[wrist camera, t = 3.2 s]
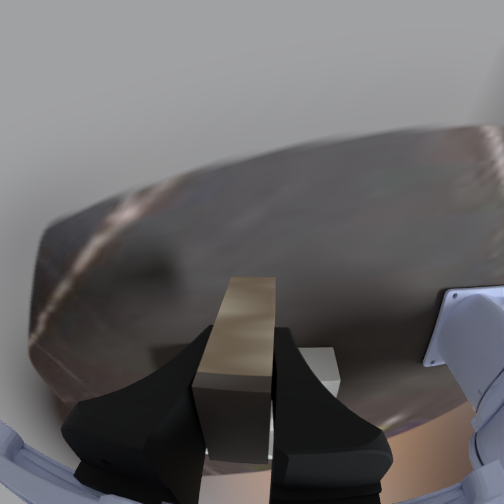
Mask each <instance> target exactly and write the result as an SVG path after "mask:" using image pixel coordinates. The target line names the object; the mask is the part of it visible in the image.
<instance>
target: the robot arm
mask: <svg viewBox="0 0 504 504" xmlns="http://www.w3.org/2000/svg"><path fill="white" fill-rule="evenodd" d="M454 294H455V295H454ZM453 295H454V296H453ZM213 326H214V325H209V326H208V327H207V328H206V329H205V330H204V331H203V332H202V333H201V334H200V335H199V336H198V337H197V338H196V339H195V340H194V341H193V342H192V343H191V344H189V345H188V346H187V347H186V348H185V349H184V350H183V351H182V352H181V353H179V354H178V355H177V356H176V357H175V358H173V359H172V360H171V361H170V362H168V363H167V364H166V365H164V366H163V367H161V368H160V369H158V370H157V371H155V372H154V373H152V374H150V375H149V376H147V377H145V378H143V379H141V380H139V381H137V382H135V383H133V384H131V385H129V386H127V387H125V388H123V389H120V390H118V391H115V392H112V393H109V394H107V395H103V396H100V397H96V398H93V399H89V400H85V401H80V402H78V403H77V405H76V406H75V408H74V409H73V410H72V412H71V413H70V415H69V416H68V418H67V419H66V421H65V422H64V424H63V425H62V427H61V432H62V435H63V437H64V439H65V441H66V442H67V443H68V445H69V446H70V447H71V448H72V450H73V451H74V452H75V453H76V455H77V456H78V457H79V458H80V460H81V462H80V464H79V466H78V467H77V469H76V471H75V470H73V469H71V468H69V467H67V466H65V465H63V464H61V463H59V462H57V461H55V460H53V459H51V458H50V457H48V456H45V455H44V454H42V453H41V452H39V451H37V450H35V449H34V448H32V447H30V446H29V445H27V444H25V443H24V441H23V440H22V438H21V437H20V436H19V435H18V434H17V433H16V432H15V431H14V430H13V429H12V428H10V427H9V426H8V425H6V424H5V423H3V422H2V421H0V482H1V483H2V484H3V485H4V486H5V487H6V488H8V489H9V490H10V491H11V492H13V493H14V494H15V495H17V496H18V497H19V498H21V499H22V500H23V501H25V502H26V503H28V504H198V501H199V492H200V485H201V478H202V471H203V465H204V459H205V453H206V448H207V447H206V443H205V440H204V436H203V432H202V428H201V424H200V420H199V416H198V412H197V408H196V404H195V399H194V395H193V390H192V384H193V381H194V379H195V376H196V373H197V370H198V367H199V365H200V362H201V359H202V356H203V354H204V351H205V348H206V345H207V343H208V340H209V337H210V334H211V332H212V329H213ZM431 361H432V362H431ZM441 364H446V365H447V366H448V368H449V369H450V371H451V373H452V374H453V376H454V377H455V379H456V381H457V382H458V384H459V386H460V387H461V389H462V391H463V392H464V394H465V396H466V398H467V399H468V401H469V403H470V404H471V406H472V408H473V410H474V412H475V413H476V415H475V417H474V418H473V420H472V421H471V424H472V426H473V428H474V430H475V432H474V433H473V435H472V436H471V438H470V442H469V456H470V461H471V464H472V467H473V469H474V470H473V471H472V472H470V473H469V474H468V475H467V476H466V477H465V478H464V479H463V480H462V481H461V482H460V483H457V484H455V485H452V486H450V487H447V488H444V489H441V490H439V491H436V492H433V493H430V494H426V495H423V496H420V497H417V498H413V499H410V500H406V501H402V502H398V503H394V504H504V285H503V286H490V287H475V288H459V289H448V290H447V291H446V292H445V294H444V298H443V301H442V305H441V309H440V312H439V316H438V319H437V322H436V325H435V329H434V332H433V335H432V338H431V341H430V343H429V346H428V349H427V352H426V355H425V357H424V360H423V365H424V366H425V367H429V366H435V365H441ZM272 412H273V455H272V471H271V485H270V499H269V504H381V503H380V497H379V493H380V492H381V490H382V488H381V483H380V480H381V479H382V477H383V476H384V475H385V474H386V472H387V471H388V470H389V468H390V467H391V465H392V463H393V457H392V452H391V448H390V446H389V444H388V441H387V439H386V437H385V435H384V433H383V431H382V430H381V429H379V428H377V427H376V426H374V425H372V424H370V423H369V422H367V421H365V420H364V419H362V418H360V417H359V416H358V415H356V414H355V413H353V412H352V411H351V410H349V409H348V408H347V407H346V406H345V405H344V404H342V403H341V402H340V401H339V400H338V399H337V398H336V397H335V396H334V395H333V394H332V393H331V392H330V391H329V390H328V389H327V388H326V387H325V386H324V385H323V384H322V383H321V381H320V380H319V379H318V378H317V376H316V375H315V374H314V372H313V371H312V370H311V368H310V367H309V365H308V364H307V362H306V361H305V359H304V357H303V356H302V354H301V352H300V350H299V349H298V347H297V345H296V343H295V340H294V338H293V336H292V333H291V330H290V329H289V328H279V327H274V342H273V375H272Z"/></svg>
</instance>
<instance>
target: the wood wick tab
mask: <svg viewBox="0 0 504 504" xmlns="http://www.w3.org/2000/svg"><path fill="white" fill-rule="evenodd" d="M275 283H276V278H275V277H231V280H230V283H229V285H228V288H227V291H226V294H225V296H224V299H223V302H222V304H221V307H220V310H219V313H218V315H217V318H216V321H215V323H214V326H213V329H212V332H211V334H210V337H209V340H208V343H207V345H206V348H205V351H204V354H203V356H202V359H201V362H200V365H199V367H198V370H197V373H196V376H195V379H194V381H193V384H192V390H193V395H194V399H195V404H196V408H197V412H198V416H199V420H200V424H201V428H202V432H203V436H204V440H205V443H206V447H207V451H208V454H209V458H210V460H218V461H227V462H238V463H252V464H268V454H269V438H270V422H271V404H272V375H273V342H274V327H275Z"/></svg>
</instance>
